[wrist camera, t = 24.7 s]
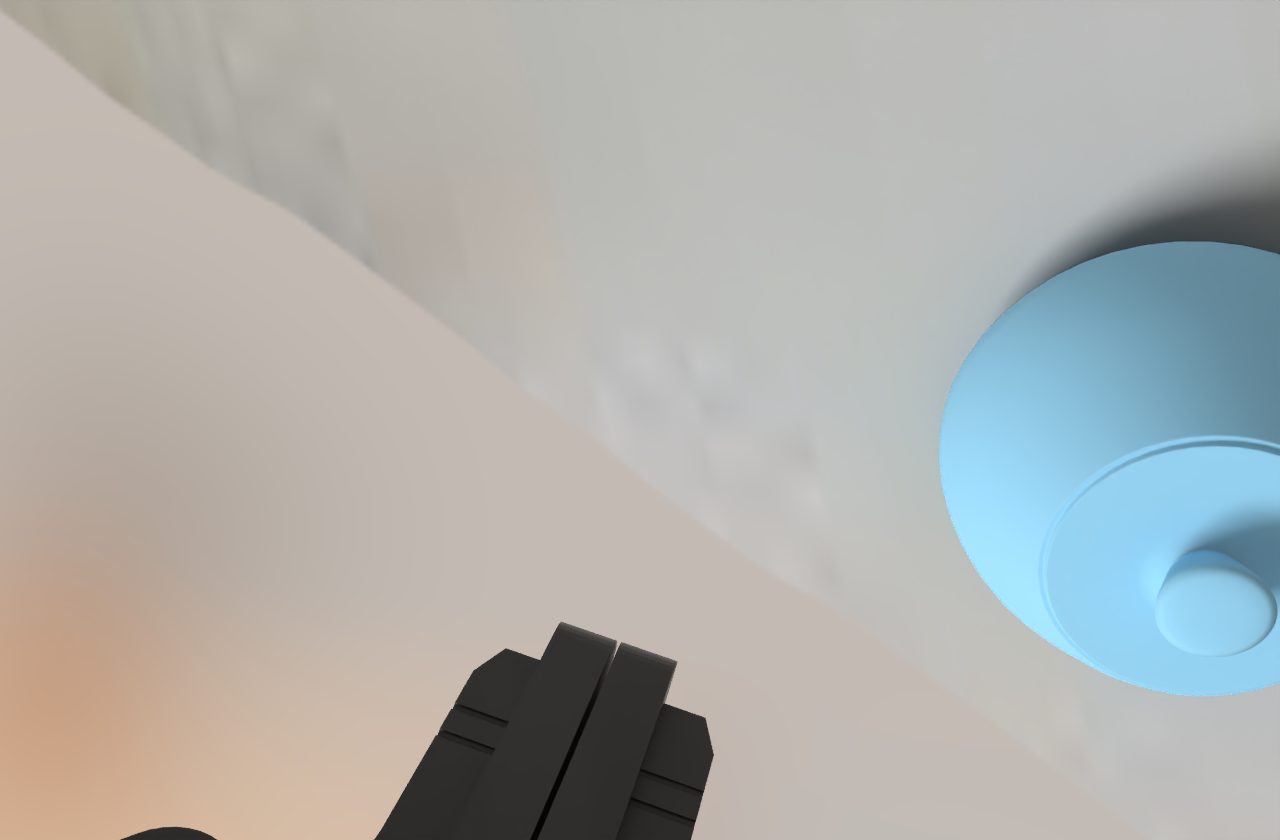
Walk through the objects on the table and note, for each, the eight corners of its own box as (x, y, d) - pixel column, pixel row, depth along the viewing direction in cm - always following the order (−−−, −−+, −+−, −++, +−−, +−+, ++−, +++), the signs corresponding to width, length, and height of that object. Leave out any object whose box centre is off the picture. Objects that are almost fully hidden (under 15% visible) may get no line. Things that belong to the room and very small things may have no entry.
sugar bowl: (1127, 135, 36) (1186, 252, 26) (1506, 380, 37) (1704, 585, 27) (862, 458, 44) (832, 642, 34) (1179, 656, 45) (1240, 895, 35)
